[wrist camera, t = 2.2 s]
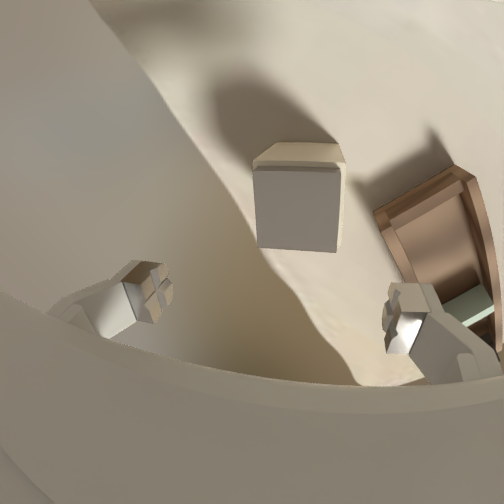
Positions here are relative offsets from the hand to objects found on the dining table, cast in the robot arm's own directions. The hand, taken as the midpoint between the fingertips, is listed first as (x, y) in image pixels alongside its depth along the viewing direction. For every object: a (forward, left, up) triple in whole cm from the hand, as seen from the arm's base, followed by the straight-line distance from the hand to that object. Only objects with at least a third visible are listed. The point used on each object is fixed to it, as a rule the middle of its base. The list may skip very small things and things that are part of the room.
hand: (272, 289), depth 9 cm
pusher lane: (+9, +16, -15) cm, 24 cm away
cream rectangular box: (-1, 0, -15) cm, 15 cm away
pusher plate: (+11, +17, -14) cm, 24 cm away
